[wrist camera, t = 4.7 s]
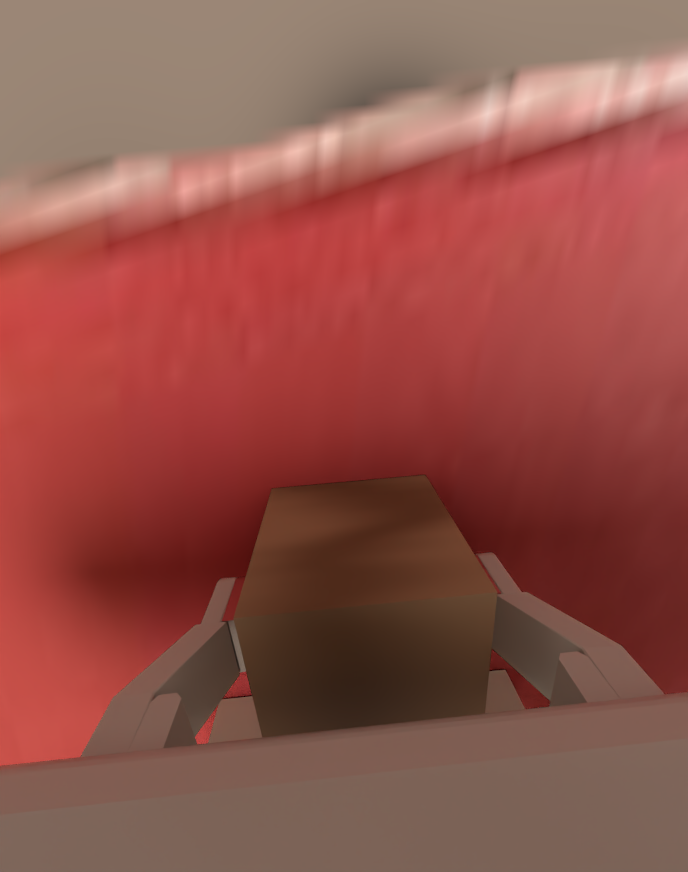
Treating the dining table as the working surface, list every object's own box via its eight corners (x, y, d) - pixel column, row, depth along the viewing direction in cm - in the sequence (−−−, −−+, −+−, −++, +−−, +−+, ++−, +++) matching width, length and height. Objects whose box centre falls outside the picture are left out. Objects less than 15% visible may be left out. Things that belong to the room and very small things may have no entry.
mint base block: (505, 669, 15) (568, 794, 11) (485, 825, 19) (526, 954, 15) (219, 699, 14) (182, 838, 11) (264, 850, 18) (248, 989, 15)
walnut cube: (425, 474, 11) (497, 592, 7) (424, 594, 13) (480, 754, 8) (271, 488, 11) (232, 618, 6) (291, 607, 13) (272, 777, 8)
